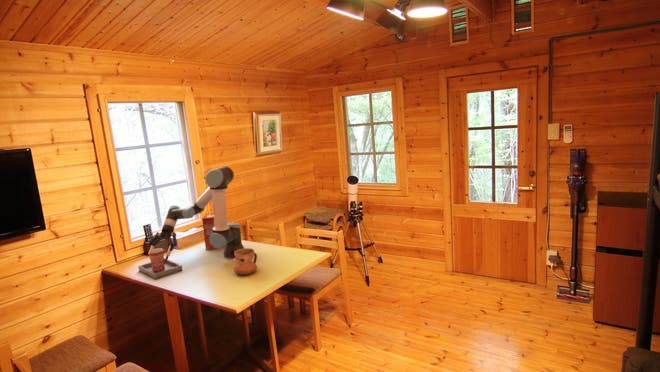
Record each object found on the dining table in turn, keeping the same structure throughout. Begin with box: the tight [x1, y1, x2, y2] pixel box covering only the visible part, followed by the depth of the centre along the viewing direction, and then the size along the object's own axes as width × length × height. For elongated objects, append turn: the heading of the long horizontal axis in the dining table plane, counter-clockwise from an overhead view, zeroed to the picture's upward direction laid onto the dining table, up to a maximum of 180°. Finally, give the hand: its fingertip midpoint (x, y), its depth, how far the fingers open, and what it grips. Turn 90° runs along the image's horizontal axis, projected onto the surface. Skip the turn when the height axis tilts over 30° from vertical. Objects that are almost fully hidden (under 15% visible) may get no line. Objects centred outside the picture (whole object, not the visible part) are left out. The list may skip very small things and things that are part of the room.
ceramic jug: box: [232, 247, 258, 276], centre depth 251 cm, size 18×14×14 cm
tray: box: [138, 257, 183, 280], centre depth 263 cm, size 24×18×4 cm
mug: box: [148, 247, 169, 272], centre depth 262 cm, size 13×9×14 cm
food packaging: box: [201, 214, 218, 251], centre depth 303 cm, size 13×9×25 cm
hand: (158, 255), depth 263 cm, fingers open, 13 cm apart
